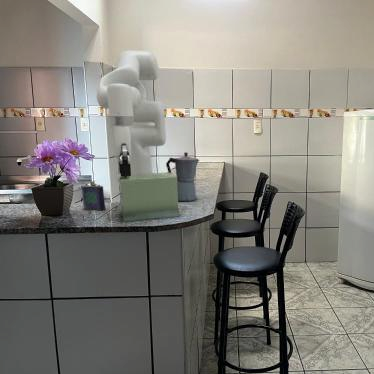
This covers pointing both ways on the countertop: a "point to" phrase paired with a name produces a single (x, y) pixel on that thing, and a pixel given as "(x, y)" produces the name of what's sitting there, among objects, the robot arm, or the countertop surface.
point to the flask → (93, 197)
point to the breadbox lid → (146, 177)
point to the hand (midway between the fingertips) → (125, 174)
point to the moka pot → (184, 176)
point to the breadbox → (149, 199)
